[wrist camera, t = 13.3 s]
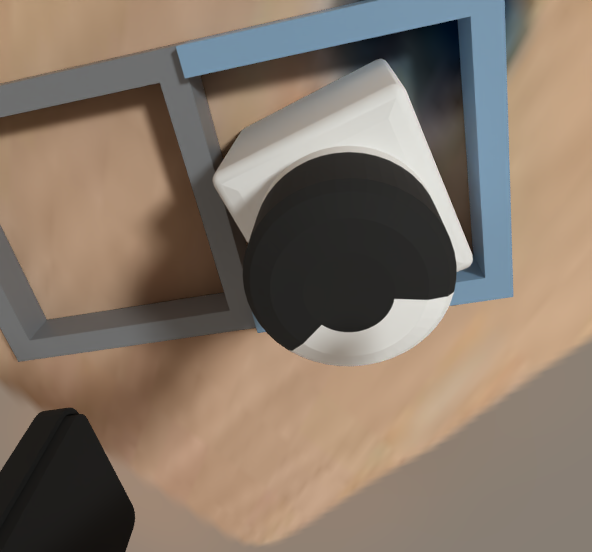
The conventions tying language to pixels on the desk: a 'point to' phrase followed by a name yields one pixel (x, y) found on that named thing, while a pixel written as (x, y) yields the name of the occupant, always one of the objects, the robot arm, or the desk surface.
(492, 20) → the frame
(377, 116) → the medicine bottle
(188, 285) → the desk surface
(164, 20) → the desk surface
